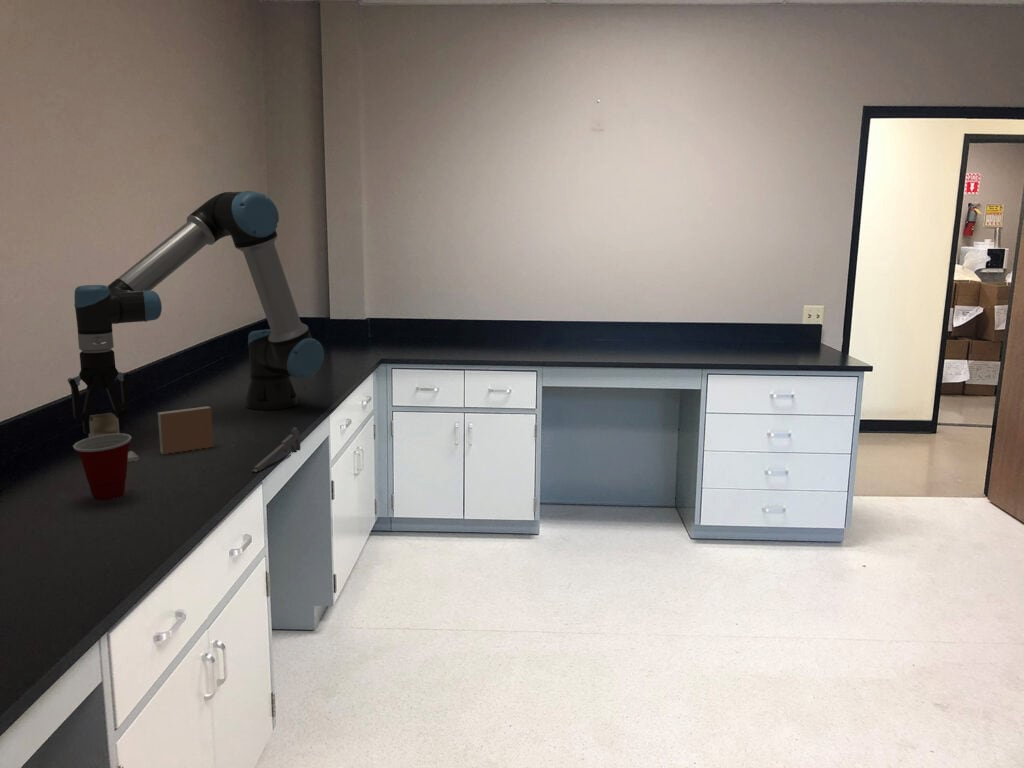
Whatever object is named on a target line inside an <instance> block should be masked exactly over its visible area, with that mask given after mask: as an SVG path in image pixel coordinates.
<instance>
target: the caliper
mask: <svg viewBox="0 0 1024 768" xmlns="http://www.w3.org/2000/svg"><path fill="white" fill-rule="evenodd" d="M300 436H301V435H300V430H298V428H297V427H292V429H290V434H289V435H288V436H287V437H285V439H283V440H282V441H281V442H280V443H281V444H279V445H278V446H277V447H276V448H275V449H274V450H272V451H271V452H270V453H269V454H268V455H266V456H265V457H264V458H263V459H262V460H261V461H260V462H259V463H257V464H255V466H254V467H253V468H254V469H253V470H252V471H255V472H257V471H260V470H262V469H263V470H265V468H267V467H268V466H269V465H270V464H271V463H272V462H273V461H275V460H276V459H277V458H278V457H279V456H280V455H282V453H288V451H290V450H291V452H292V453H297V452H298V451H301V448H302V447H301V437H300ZM263 470H262V471H263ZM260 472H261V471H260ZM257 473H258V472H257Z"/></svg>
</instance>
